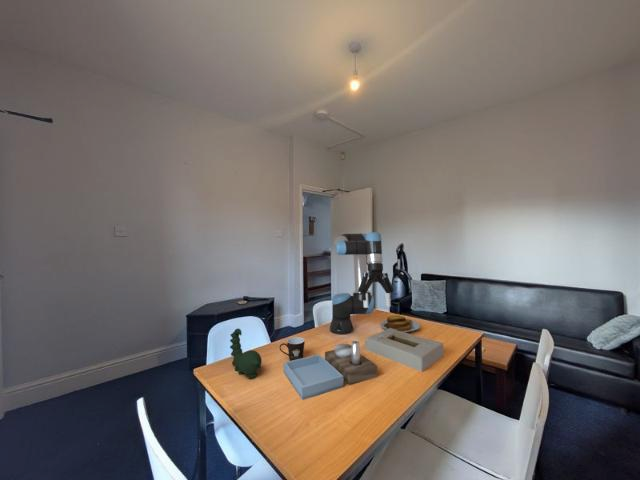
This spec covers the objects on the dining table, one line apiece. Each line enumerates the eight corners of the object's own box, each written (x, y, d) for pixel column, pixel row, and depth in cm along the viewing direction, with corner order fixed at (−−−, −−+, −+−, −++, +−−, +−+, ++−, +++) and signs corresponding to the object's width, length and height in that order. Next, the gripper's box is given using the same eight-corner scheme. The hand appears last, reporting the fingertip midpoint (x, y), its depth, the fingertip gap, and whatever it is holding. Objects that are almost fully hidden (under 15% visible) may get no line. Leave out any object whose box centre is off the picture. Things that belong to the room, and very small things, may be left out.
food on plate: (413, 338, 155) (413, 327, 155) (374, 330, 170) (374, 320, 170) (424, 326, 176) (424, 316, 176) (389, 319, 190) (389, 310, 190)
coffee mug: (307, 357, 131) (307, 338, 131) (300, 366, 123) (300, 345, 123) (286, 354, 135) (286, 335, 135) (278, 362, 127) (278, 341, 127)
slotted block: (364, 351, 140) (422, 373, 116) (364, 336, 140) (422, 356, 116) (388, 339, 156) (444, 357, 132) (388, 326, 156) (444, 342, 132)
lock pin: (350, 373, 116) (350, 342, 116) (356, 371, 118) (356, 340, 118) (354, 377, 113) (354, 345, 113) (361, 375, 115) (361, 343, 114)
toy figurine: (225, 369, 124) (248, 387, 105) (223, 329, 125) (246, 339, 106) (244, 363, 130) (269, 379, 111) (242, 324, 131) (267, 333, 112)
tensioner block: (325, 362, 127) (324, 345, 127) (349, 356, 133) (349, 340, 133) (349, 385, 107) (349, 365, 107) (377, 376, 113) (376, 358, 113)
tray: (283, 372, 117) (283, 362, 117) (319, 363, 125) (319, 354, 125) (302, 399, 98) (302, 387, 98) (343, 387, 106) (343, 376, 106)
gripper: (359, 261, 122) (361, 308, 117) (399, 263, 133) (402, 306, 129) (349, 262, 128) (351, 307, 124) (388, 265, 139) (391, 305, 135)
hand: (377, 307), depth 126 cm, fingers open, 13 cm apart
